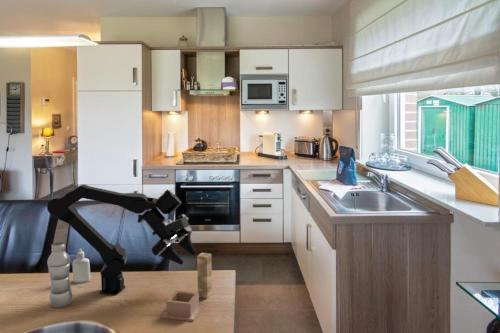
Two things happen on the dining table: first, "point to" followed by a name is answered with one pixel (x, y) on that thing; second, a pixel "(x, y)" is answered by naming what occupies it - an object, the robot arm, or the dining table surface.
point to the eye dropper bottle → (81, 268)
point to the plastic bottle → (59, 276)
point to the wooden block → (204, 274)
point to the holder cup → (183, 306)
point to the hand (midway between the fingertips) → (189, 258)
